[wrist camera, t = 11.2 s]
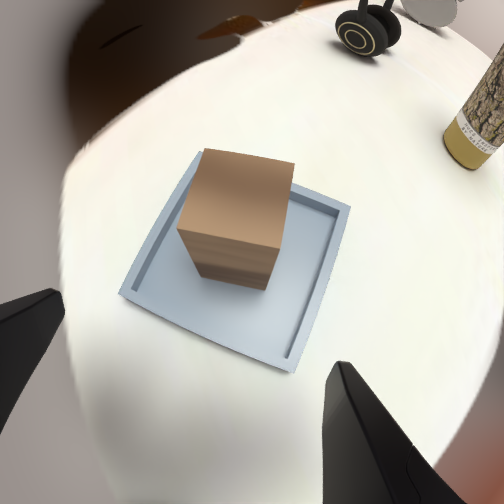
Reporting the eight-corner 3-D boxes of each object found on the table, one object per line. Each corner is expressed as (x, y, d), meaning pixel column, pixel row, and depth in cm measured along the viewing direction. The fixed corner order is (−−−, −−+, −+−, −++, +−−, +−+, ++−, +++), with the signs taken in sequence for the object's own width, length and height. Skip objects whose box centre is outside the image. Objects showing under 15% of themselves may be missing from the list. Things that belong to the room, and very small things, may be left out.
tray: (289, 372, 20) (294, 373, 18) (126, 298, 22) (117, 293, 20) (344, 216, 25) (350, 206, 23) (201, 162, 26) (199, 151, 24)
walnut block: (265, 290, 22) (280, 248, 13) (200, 277, 22) (176, 228, 14) (276, 231, 23) (294, 163, 15) (216, 219, 24) (204, 148, 15)
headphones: (397, 51, 37) (430, -32, 19) (369, 73, 33) (409, -38, 14) (357, 30, 39) (381, -53, 20) (320, 48, 35) (343, -61, 16)
